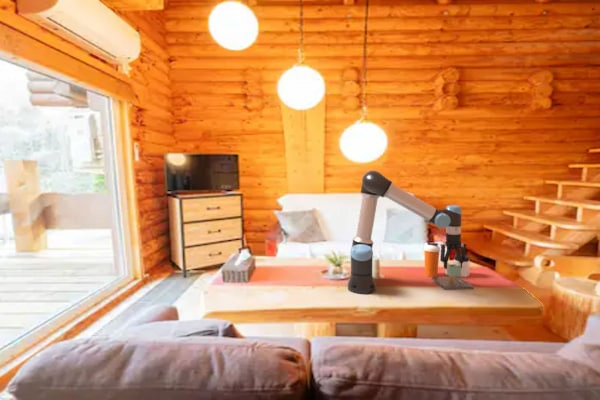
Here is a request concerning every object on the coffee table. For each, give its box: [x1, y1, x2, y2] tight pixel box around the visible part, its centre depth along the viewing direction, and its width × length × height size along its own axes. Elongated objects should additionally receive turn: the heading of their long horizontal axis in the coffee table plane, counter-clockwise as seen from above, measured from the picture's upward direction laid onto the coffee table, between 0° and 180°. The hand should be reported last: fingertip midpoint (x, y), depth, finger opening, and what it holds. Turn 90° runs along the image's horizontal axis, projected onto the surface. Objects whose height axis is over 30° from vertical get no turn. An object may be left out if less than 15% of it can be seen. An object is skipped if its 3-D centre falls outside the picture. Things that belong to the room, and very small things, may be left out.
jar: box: [452, 254, 471, 278], centre depth 198 cm, size 9×8×12 cm
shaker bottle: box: [423, 241, 441, 278], centre depth 198 cm, size 9×9×20 cm
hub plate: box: [431, 276, 474, 291], centre depth 183 cm, size 16×16×6 cm
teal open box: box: [448, 263, 461, 277], centre depth 182 cm, size 6×6×5 cm
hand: (452, 273), depth 183 cm, fingers closed on teal open box, 6 cm apart
